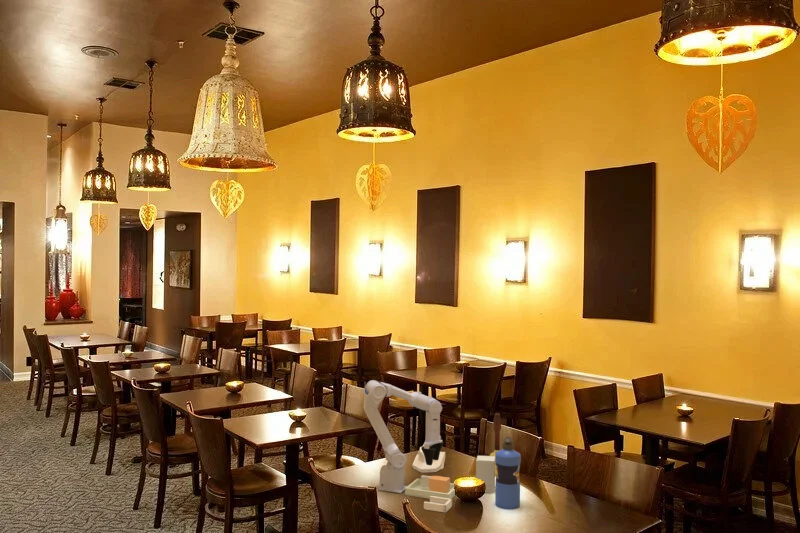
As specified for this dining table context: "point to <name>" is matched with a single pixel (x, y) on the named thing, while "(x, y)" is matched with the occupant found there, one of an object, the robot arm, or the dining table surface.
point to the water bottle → (507, 476)
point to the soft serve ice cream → (421, 464)
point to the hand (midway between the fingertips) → (432, 462)
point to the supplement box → (486, 471)
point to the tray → (427, 491)
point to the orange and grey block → (436, 483)
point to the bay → (438, 504)
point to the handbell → (496, 435)
